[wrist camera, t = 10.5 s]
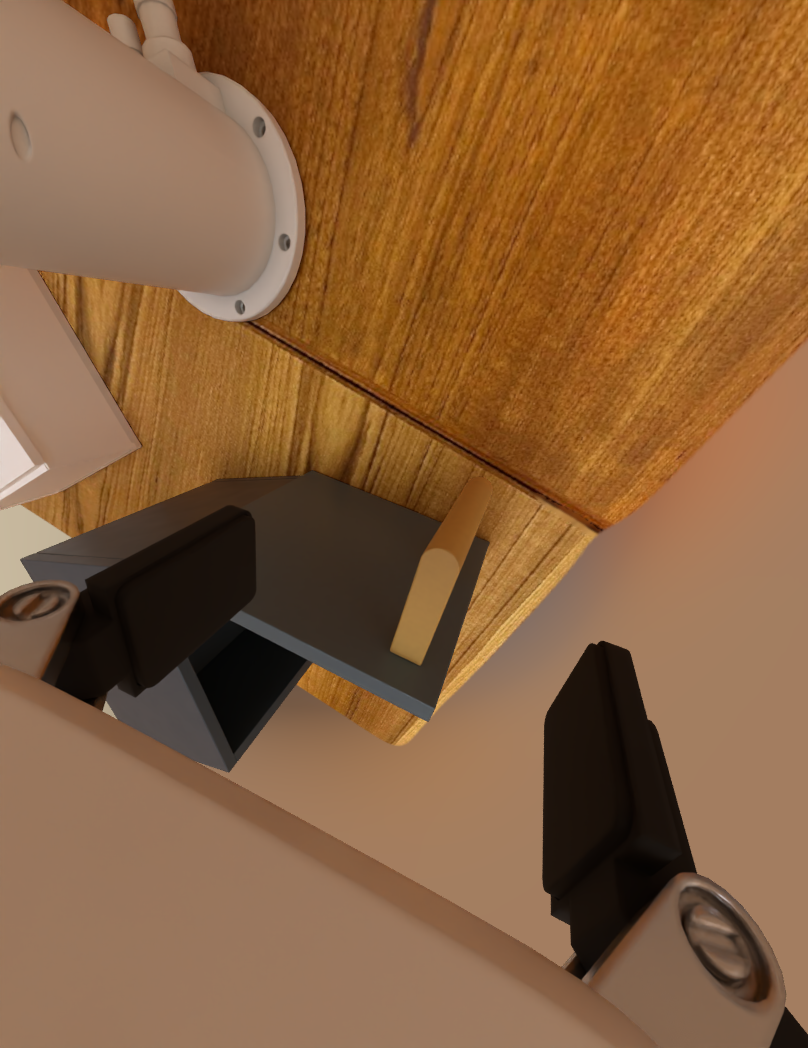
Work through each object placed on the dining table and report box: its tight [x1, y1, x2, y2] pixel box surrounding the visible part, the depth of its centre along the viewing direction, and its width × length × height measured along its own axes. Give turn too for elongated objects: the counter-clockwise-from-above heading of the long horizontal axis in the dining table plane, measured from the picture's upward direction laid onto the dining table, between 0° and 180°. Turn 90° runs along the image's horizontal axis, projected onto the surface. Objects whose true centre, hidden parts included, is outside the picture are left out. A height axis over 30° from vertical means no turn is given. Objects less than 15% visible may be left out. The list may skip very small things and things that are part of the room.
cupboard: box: [20, 475, 313, 772], centre depth 30 cm, size 10×16×16 cm, turn 9°
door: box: [230, 470, 493, 722], centre depth 22 cm, size 7×16×15 cm, turn 75°
